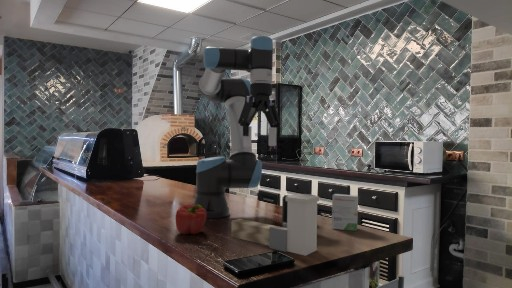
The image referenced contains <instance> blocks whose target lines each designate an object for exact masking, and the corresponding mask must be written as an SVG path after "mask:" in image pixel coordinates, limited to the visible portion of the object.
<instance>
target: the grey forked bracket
mask: <svg viewBox="0 0 512 288" xmlns="http://www.w3.org/2000/svg"><path fill="white" fill-rule="evenodd" d="M302 194H303V193H299V194H297V195H296V194H291V195H292V196H290V195H286V196H287V197H286V201H288V204H287V223H286V222H282V227H283V228H287V229H282V228H277V227H272V226H271V227H270V238H269V249H272V250H275V251H276V250H277V251H281V252H285V253H286V252H289V253H292V254H297V255H301V256H308V255H310V254H313V253H314V252H316V251H317V250H318V248H317V244H318V243H317V242H318V240H317V238H318V235H317V234H318V202H319V201H320V196H317V195H316V196H310V195H302Z"/></svg>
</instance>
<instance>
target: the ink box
mask: <svg viewBox="0 0 512 288" xmlns="http://www.w3.org/2000/svg"><path fill="white" fill-rule="evenodd" d="M331 201H332V202H331V203H332V204H331V205H332V206H331V229H332V230H343V231H350V232H351V231H353V232H357V230H358V214H359V212H358V211H359V210H358V209H359V195H354V194H341V193H334V194H332V200H331Z"/></svg>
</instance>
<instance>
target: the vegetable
mask: <svg viewBox="0 0 512 288" xmlns="http://www.w3.org/2000/svg"><path fill="white" fill-rule="evenodd" d="M206 216H207V213H206V210H205V209H203V207H202V206H201V205H198V204H196V205H194V204H193V205H191V204H183V205H180V207H179V208H178V209H177V210H176V213H175V226H176V229H177V231H178V232H179V233H180V234H182V235H188V234H190V235H196V234H198V233H200V232H201V230H203V227H204V226H205V224H206V221H207V218H206Z"/></svg>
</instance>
